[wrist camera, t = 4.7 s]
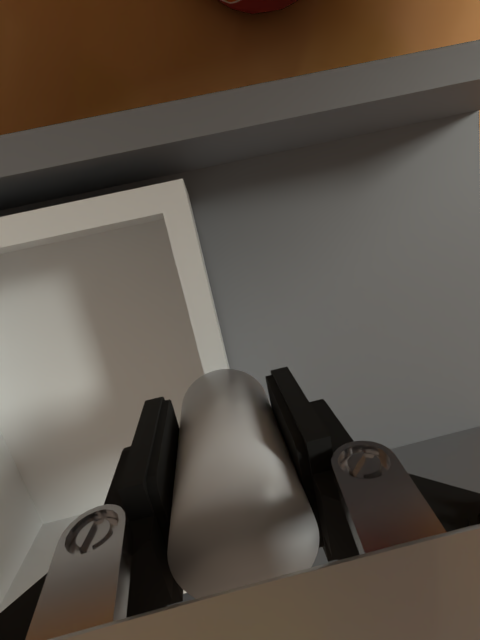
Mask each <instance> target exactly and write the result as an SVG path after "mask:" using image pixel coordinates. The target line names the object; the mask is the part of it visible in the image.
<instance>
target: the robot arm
mask: <svg viewBox="0 0 480 640" xmlns="http://www.w3.org/2000/svg"><path fill="white" fill-rule="evenodd" d="M265 378H266V383H267V388H268V393H269V398H270V403H271V407H272V410H273V413H274V415H275V418H276V420H277V423H278V425H279V428H280V430H281V433H282V436H283V438H284V441H285V443H286V446H287V448H288V451H289V453H290V456H291V458H292V461H293V464H294V466H295V469H296V471H297V474H298V476H299V479H300V481H301V484H302V486H303V489H304V491H305V494H306V496H307V499H308V501H309V504H310V506H311V509H312V511H313V514H314V516H315V519H316V522H317V525H318V529H319V537H320V538H319V548H320V547H323V550H324V552H325V555H326V558H327V560H328V562H330V561H333V560H337V559H338V561H334V562H330V563H327V564H323V565H319V566H315V567H311V568H308V569H304V570H300V571H296V572H293V573H289V574H285V575H281V576H278V577H274V578H270V579H267V580H263V581H259V582H256V583H252V584H248V585H244V586H241V587H237V588H233V589H230V590H226V591H222V592H219V593H215V594H211V595H208V596H204V597H200V598H197V599H193V600H189V601H185V602H182V601H183V589H182V588H181V587H180V586H179V584H178V583H177V582H176V580H175V579H174V577H173V575H172V573H171V571H170V568H169V564H168V557H167V550H168V539H169V529H170V519H171V509H172V499H173V489H174V479H175V469H176V459H177V448H178V438H179V425H178V422H177V418H176V415H175V411H174V408H173V405H172V402H171V400H170V399H169V400H165V399H164V397H158V398H154V399H150V400H146V401H145V402H144V406H143V409H142V412H141V415H140V418H139V422H138V425H137V428H136V431H135V435H134V438H133V441H132V444H131V446H129V447H125V448H124V449H123V450H122V453H121V456H120V459H119V462H118V464H117V467H116V470H115V473H114V476H113V479H112V482H111V485H110V488H109V491H108V494H107V497H106V500H105V502H104V505H101V506H97V507H95V508H93V509H90V510H88V511H86V512H85V513H83V514H82V515H80V516H78V517H77V518H76V519H75V520H74V521H73V522H72V523H70V524H69V526H68V527H67V528H66V529H65V530H64V532H63V533H62V535H61V537H60V539H59V541H58V543H57V546H56V549H55V552H54V555H53V558H52V561H51V564H50V567H49V570H48V573H46V574H45V575H44V576H43V577H42V578H41V579H39V580H38V581H37V582H36V583H35V584H34V585H32V586H31V587H30V588H29V589H28V590H27V591H25V592H24V593H23V594H22V595H21V596H19V597H18V598H17V599H16V600H15V601H14V602H12V603H11V604H10V605H9V606H8V607H7V608H5V609H4V610H3V611H2V612H1V613H0V640H480V493H477V492H473V491H470V490H466V489H463V488H459V487H455V486H452V485H448V484H445V483H441V482H438V481H434V480H431V479H427V478H423V477H420V476H416V475H413V474H409V473H407V471H406V470H405V468H404V467H403V465H402V464H401V462H400V461H399V459H398V458H397V456H396V455H395V454H394V453H393V452H392V451H391V450H390V449H389V448H387V447H386V446H384V445H382V444H379V443H376V442H372V441H353V439H352V438H351V437H350V435H349V434H348V432H347V431H346V430H345V428H344V427H343V425H342V424H341V422H340V421H339V420H338V418H337V417H336V415H335V414H334V413H333V411H332V410H331V408H330V407H329V406H328V404H327V403H326V401H325V400H324V399H320V400H316V401H312V402H309V401H308V399H307V398H306V396H305V394H304V393H303V391H302V389H301V388H300V386H299V385H298V383H297V381H296V380H295V378H294V377H293V375H292V373H291V372H290V370H289V368H288V367H283V368H279V369H275V370H271V375H269V376H265ZM178 602H182V603H178ZM174 603H178V604H174ZM171 604H174V605H171ZM167 605H171V606H167Z"/></svg>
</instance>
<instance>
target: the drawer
mask: <svg viewBox="0 0 480 640" xmlns="http://www.w3.org/2000/svg"><path fill="white" fill-rule="evenodd" d="M158 397H164V399H165V400H169V399H170V400H171V402H172V405H173V408H174V411H175V415H176V418H177V422H178V425H179V438H178V448H177V459H176V469H175V479H174V489H173V499H172V509H171V519H170V529H169V539H168V550H167V557H168V564H169V568H170V571H171V573H172V575H173V577H174V579H175V580H176V582H177V583H178V584H179V586H180V587H181V588H182V589H183V594H184V593H188V594H189V595H191V596H192V597H194V598H196V599H197V598H200V597H204V596H208V595H211V594H215V593H219V592H222V591H226V590H230V589H233V588H237V587H241V586H244V585H248V584H252V583H256V582H259V581H263V580H267V579H270V578H274V577H278V576H281V575H285V574H289V573H293V572H296V571H300V570H304V569H308V568H311V567H312V565H313V563H314V561H315V558H316V556H317V553H318V548H319V538H320V537H319V529H318V525H317V522H316V519H315V516H314V514H313V511H312V509H311V506H310V504H309V501H308V499H307V496H306V494H305V491H304V489H303V486H302V484H301V481H300V479H299V476H298V474H297V471H296V469H295V466H294V464H293V461H292V458H291V456H290V453H289V451H288V448H287V446H286V443H285V441H284V438H283V436H282V433H281V430H280V428H279V425H278V423H277V420H276V418H275V415H274V413H273V410H272V407H271V405H270V402H269V400H268V397H267V395H266V392H265V390H264V388H263V387H262V385H261V384H260V383H259V382H258V381H257V380H256V379H255V378H254V377H252V376H251V375H249V374H247V373H245V372H243V371H240V370H235V369H230V368H229V364H228V360H227V355H226V351H225V347H224V343H223V338H222V334H221V330H220V326H219V321H218V317H217V313H216V309H215V305H214V300H213V296H212V292H211V288H210V283H209V279H208V275H207V271H206V266H205V262H204V258H203V254H202V249H201V245H200V241H199V237H198V232H197V228H196V224H195V220H194V215H193V211H192V207H191V203H190V199H189V194H188V192H187V189H186V186H185V184H184V181H183V179H178V180H173V181H169V182H164V183H159V184H154V185H150V186H145V187H140V188H135V189H131V190H126V191H121V192H116V193H112V194H107V195H102V196H97V197H93V198H88V199H83V200H79V201H74V202H69V203H64V204H60V205H55V206H50V207H45V208H41V209H36V210H31V211H26V212H22V213H17V214H12V215H7V216H3V217H0V613H1V612H2V611H3V610H4V609H5V608H7V607H8V606H9V605H10V604H11V603H12V602H14V601H15V600H16V599H17V598H18V597H19V596H21V595H22V594H23V593H24V592H25V591H27V590H28V589H29V588H30V587H31V586H32V585H34V584H35V583H36V582H37V581H38V580H39V579H41V578H42V577H43V576H44V575H45V574H46V573H48V570H49V567H50V564H51V561H52V558H53V555H54V552H55V549H56V546H57V543H58V541H59V539H60V537H61V535H62V533H63V532H64V530H65V529H66V528H67V527H68V526H69V524H70V523H72V522H73V521H74V520H75V519H76V518H77V517H78V516H80V515H82V514H83V513H85V512H86V511H88V510H90V509H93V508H95V507H97V506H101V505H104V502H105V500H106V497H107V494H108V491H109V488H110V485H111V482H112V479H113V476H114V473H115V470H116V467H117V464H118V462H119V459H120V456H121V453H122V450H123V449H124V448H125V447H129V446H131V444H132V441H133V438H134V435H135V431H136V428H137V425H138V422H139V418H140V415H141V412H142V409H143V406H144V402H145V401H146V400H150V399H154V398H158Z"/></svg>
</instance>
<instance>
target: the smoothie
mask: <svg viewBox="0 0 480 640" xmlns="http://www.w3.org/2000/svg"><path fill="white" fill-rule="evenodd" d="M219 1H220V2H222V3H223V4H225V5H226V6H228V7H229V8H231V9H234V10H238V11H242V12H246V13H250V14H254V13H261V12H268V11H273V10H280V9H283V8H285V7H287V6H289V5H291V4H292V3H294V2H296V1H298V0H219Z"/></svg>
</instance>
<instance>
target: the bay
mask: <svg viewBox="0 0 480 640" xmlns="http://www.w3.org/2000/svg"><path fill="white" fill-rule="evenodd" d="M479 110H480V40H476V41H471V42H466V43H461V44H456V45H451V46H446V47H441V48H436V49H431V50H426V51H421V52H416V53H411V54H406V55H401V56H396V57H391V58H386V59H381V60H376V61H371V62H366V63H361V64H356V65H351V66H345V67H340V68H335V69H330V70H325V71H320V72H315V73H310V74H305V75H300V76H295V77H290V78H285V79H280V80H275V81H270V82H265V83H260V84H255V85H250V86H245V87H240V88H235V89H230V90H225V91H220V92H215V93H210V94H205V95H200V96H195V97H190V98H185V99H180V100H175V101H170V102H165V103H160V104H155V105H150V106H145V107H140V108H135V109H130V110H125V111H120V112H115V113H110V114H105V115H100V116H95V117H90V118H85V119H80V120H75V121H70V122H65V123H59V124H54V125H49V126H44V127H39V128H34V129H29V130H24V131H19V132H14V133H9V134H4V135H0V217H3V216H7V215H12V214H17V213H22V212H26V211H31V210H36V209H41V208H45V207H50V206H55V205H60V204H64V203H69V202H74V201H79V200H83V199H88V198H93V197H97V196H102V195H107V194H112V193H116V192H121V191H126V190H131V189H135V188H140V187H145V186H150V185H154V184H159V183H164V182H169V181H173V180H178V179H183V181H184V184H185V186H186V189H187V192H188V194H189V199H190V203H191V207H192V211H193V215H194V220H195V224H196V228H197V232H198V237H199V241H200V245H201V249H202V254H203V258H204V262H205V266H206V271H207V275H208V279H209V283H210V288H211V292H212V296H213V300H214V305H215V309H216V313H217V317H218V321H219V326H220V330H221V334H222V338H223V343H224V347H225V351H226V355H227V360H228V364H229V368H230V369H235V370H240V371H243V372H245V373H247V374H249V375H251V376H252V377H254V378H255V379H256V380H257V381H258V382H259V383H260V384H261V385H262V387H263V388H264V390H265V392H266V395H267V397H268V400H269V402H270V398H269V393H268V388H267V383H266V378H265V376H269V375H271V370H275V369H279V368H283V367H288V368H289V370H290V372H291V373H292V375H293V377H294V378H295V380H296V381H297V383H298V385H299V386H300V388H301V389H302V391H303V393H304V394H305V396H306V398H307V399H308V401H309V402H312V401H316V400H320V399H324V400H325V401H326V403H327V404H328V406H329V407H330V408H331V410H332V411H333V413H334V414H335V415H336V417H337V418H338V420H339V421H340V422H341V424H342V425H343V427H344V428H345V430H346V431H347V432H348V434H349V435H350V437H351V438H352V439H353V441H372V442H376V443H379V444H382V445H384V446H386V447H387V448H389V449H390V450H391V451H392V452H393V453H394V454H395V455H396V456H397V458H398V459H399V461H400V462H401V464H402V465H403V467H404V468H405V470H406V471H407V473H409V474H413V475H416V476H420V477H423V478H427V479H431V480H434V481H438V482H441V483H445V484H448V485H452V486H455V487H459V488H463V489H466V490H470V491H473V492H477V493H480V152H479ZM270 405H271V403H270ZM334 561H338V559H337V560H333V561H330V562H334ZM330 562H328V560H327V558H326V555H325V552H324V550H323V547H320V548H318V553H317V556H316V558H315V561H314V563H313V565H312V567H315V566H319V565H323V564H327V563H330ZM193 599H196V598H194V597H192V596H191V595H189V594H188V593H184V594H183V601H182V602H185V601H189V600H193ZM182 602H178V603H182ZM178 603H174V604H178ZM174 604H171V605H174ZM171 605H167V606H171Z"/></svg>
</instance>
